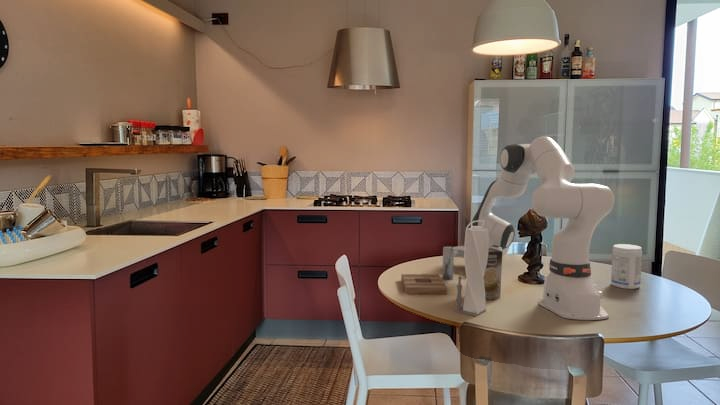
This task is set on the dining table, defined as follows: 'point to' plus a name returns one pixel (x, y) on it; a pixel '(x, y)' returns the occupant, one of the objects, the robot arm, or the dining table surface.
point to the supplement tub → (626, 266)
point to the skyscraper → (474, 271)
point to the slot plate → (423, 284)
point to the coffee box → (493, 274)
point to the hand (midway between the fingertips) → (465, 257)
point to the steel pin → (448, 263)
